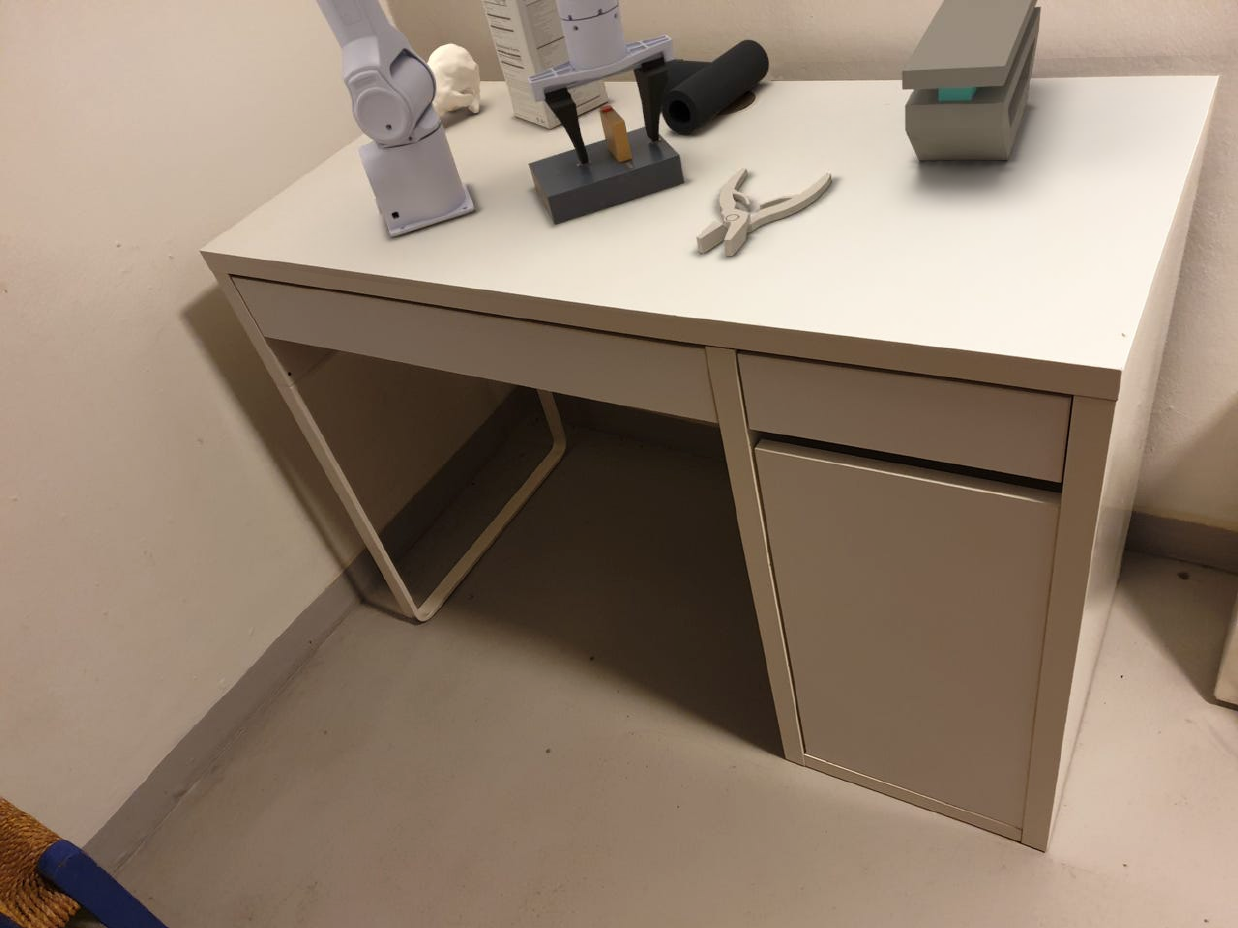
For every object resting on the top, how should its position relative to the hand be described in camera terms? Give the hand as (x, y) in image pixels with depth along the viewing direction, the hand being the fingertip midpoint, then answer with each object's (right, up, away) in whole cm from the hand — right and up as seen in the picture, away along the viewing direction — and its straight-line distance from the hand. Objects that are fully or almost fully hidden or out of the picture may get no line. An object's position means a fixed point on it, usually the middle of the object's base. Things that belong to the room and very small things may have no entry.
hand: (618, 149), depth 94 cm
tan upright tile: (0, 0, 0) cm, 0 cm away
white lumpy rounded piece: (-23, +14, +29) cm, 39 cm away
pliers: (+13, -10, -9) cm, 18 cm away
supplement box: (-7, +13, +23) cm, 27 cm away
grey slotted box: (+34, -1, -6) cm, 35 cm away
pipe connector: (+9, +10, +14) cm, 19 cm away
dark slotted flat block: (-1, -3, +2) cm, 4 cm away
